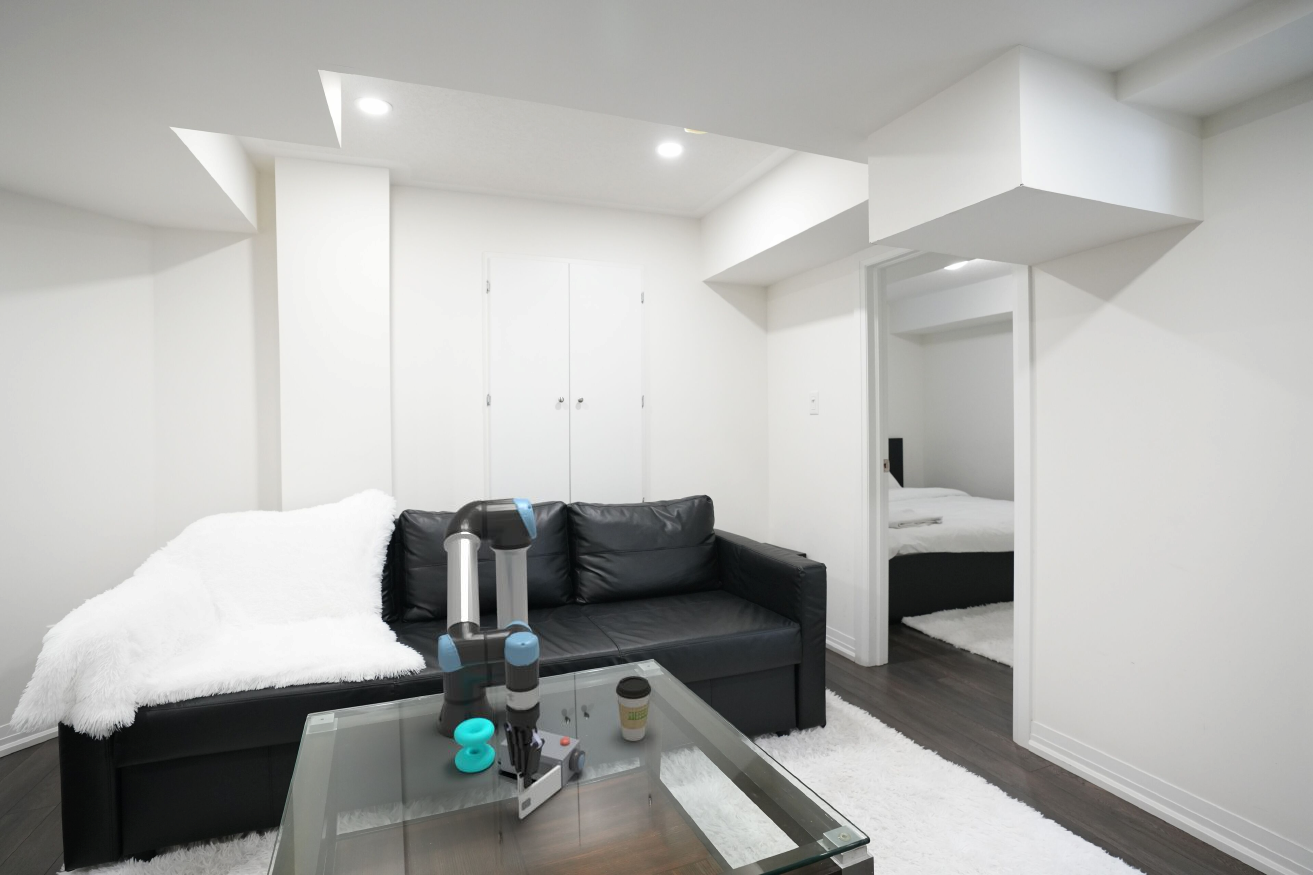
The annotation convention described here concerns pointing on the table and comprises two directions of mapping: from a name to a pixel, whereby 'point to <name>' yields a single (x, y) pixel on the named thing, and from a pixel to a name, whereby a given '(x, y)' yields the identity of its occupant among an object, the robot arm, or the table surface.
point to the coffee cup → (633, 706)
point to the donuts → (474, 745)
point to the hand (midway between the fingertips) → (524, 798)
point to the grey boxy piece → (552, 756)
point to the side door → (540, 791)
